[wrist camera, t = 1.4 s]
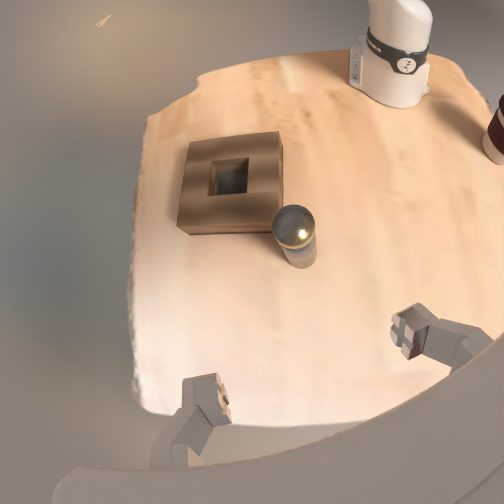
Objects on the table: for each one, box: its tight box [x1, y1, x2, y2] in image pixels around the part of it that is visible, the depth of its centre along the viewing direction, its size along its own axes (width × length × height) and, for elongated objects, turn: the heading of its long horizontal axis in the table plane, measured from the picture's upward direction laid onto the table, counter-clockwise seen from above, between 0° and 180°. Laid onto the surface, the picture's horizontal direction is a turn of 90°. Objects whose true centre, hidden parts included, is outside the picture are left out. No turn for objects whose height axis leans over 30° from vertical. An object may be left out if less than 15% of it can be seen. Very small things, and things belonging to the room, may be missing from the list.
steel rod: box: [271, 205, 316, 269], centre depth 35 cm, size 5×5×14 cm
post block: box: [177, 131, 283, 235], centre depth 45 cm, size 16×16×5 cm
